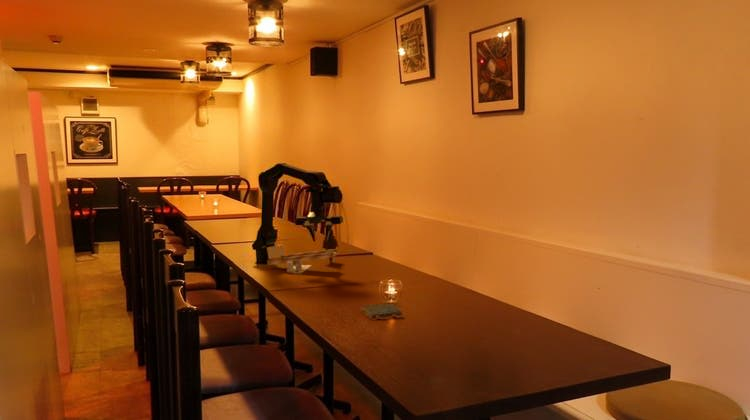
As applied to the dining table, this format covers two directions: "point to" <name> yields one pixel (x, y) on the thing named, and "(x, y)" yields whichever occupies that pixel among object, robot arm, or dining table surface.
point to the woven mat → (382, 311)
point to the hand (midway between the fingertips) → (320, 241)
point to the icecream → (330, 243)
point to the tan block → (275, 251)
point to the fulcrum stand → (297, 267)
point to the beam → (304, 256)
